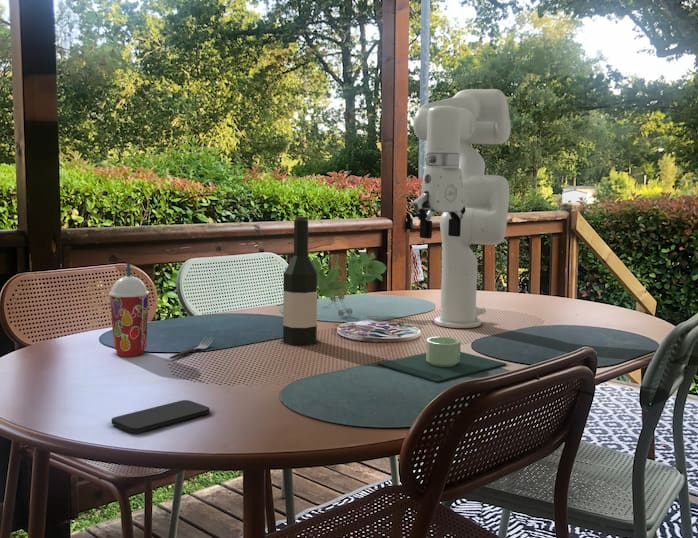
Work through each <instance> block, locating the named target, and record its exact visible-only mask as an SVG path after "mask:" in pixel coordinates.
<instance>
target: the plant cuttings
mask: <svg viewBox="0 0 698 538" xmlns="http://www.w3.org/2000/svg"><path fill="white" fill-rule="evenodd" d="M347 254H348V256H349V257H347V261H348V265H347V273H348V276H349V278H350V281H349V282H347V281H343V277H344V276H345V274H344V273H345V272H344V269H343V268H342V266H340V265H339V254H338V253H336V255H335V254H330V255H329V256H328V259H329V262H330V263H331V264H332V265H331V268H330V269H329V271H328V273H327V274H324V273H325V271H327V269H328V267H327V266H326V265H325V266H324V267H323V268H322V265H321V262H320V261H319V260H318V259H317V258H315V257H314V258H312V259H311V262H312V264H313V265H314V267H315V269H316V271H317V272H318V275H317V286H319V287H317V297H318V296H322V297H325V298H329V299H330V301H331V302H330V303H329V304H328V305H327V307H328V306H331V305H332V304H334V306H335V309H337V313H338V316H339V317H341V318H344V319H348V318H349V317H350V315H352V314H353V308H351V307H346V304H345V301H344V299H345V295H347V294H348V293H349V292H350V294H353V293H355V292H356V290H357V289H358V287H361V291H362V292H364V293H365V295H367V294H368V292H369V289H368V286H367V283H371V282H372V281H374V280H376V279H377V280H379V281H381V282H383V276H382V274H384V273H385V272H386V270H387V266H386V264H385V263H384V262H381V261H379V260H374V259H376V255H375V253H374V252H371V254H370V255H369V254H367V253H366V252H364V251H360V252H359V255H360V256H357V255H355V252H354V251H351V252H350V251H349V252H348V253H347ZM333 256H334V257H335V258H336V261H335V262H332V259H331V258H332V257H333ZM334 264H335V265H334ZM333 266H334V267H333ZM339 269H340V270H341V271H342V276H340V274H339ZM337 278H338V280H337ZM365 284H366V285H365ZM345 292H346V293H345ZM338 301H339V302H340V303H341V305H342V307H343V308H344V309H340V308H339V306H338V304H337V302H338ZM342 302H343V303H342ZM279 306H280V307H281V306H283V303H280V304H276V307H279ZM345 314H347V316H346V317H345V316H344V315H345Z"/></svg>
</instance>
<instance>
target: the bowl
mask: <svg viewBox="0 0 698 538" xmlns="http://www.w3.org/2000/svg"><path fill="white" fill-rule="evenodd" d="M461 343H462V342H461V340H460V339H459V338H455V337H450V336H432V337H428V338H426V343H425V353H426V361H427V362H429V364H431V365H434V366H440V367H450V366H455V365H456V364H457V363H459V362H460V352H461V345H462V344H461Z"/></svg>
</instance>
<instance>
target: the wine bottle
mask: <svg viewBox="0 0 698 538" xmlns="http://www.w3.org/2000/svg"><path fill="white" fill-rule="evenodd" d="M311 261H312V259H311V258H310V257H309V219H307V216H301V215H300V216H295V219H294V220H293V256H292V258H291V259H290V261H289V263H288V265H287V267H286V268H285V270H284V272H283V297H282V298H283V302H282V304H283V305H282V306H283V311H282V312H283V313H282V315H283V316H282V317H283V321H282V322H283V324H282V325H283V326H282V328H283V329H282V343H283V344H287V345H290V346H308V345H314V344H316V343H317V340H318V293H317V288H318V284H317V275H318V272H317V271H316V269H315V267H314V265H313V264H312V262H311Z"/></svg>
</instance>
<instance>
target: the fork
mask: <svg viewBox="0 0 698 538" xmlns="http://www.w3.org/2000/svg"><path fill="white" fill-rule="evenodd" d="M214 338H215V337H210V338H209V336H208V337H207V336H205V337H204V338H203V340H202V341H201V342H200V343H199V344H198V345H197V346H196V347H194V348H189V349H185V350H183V351H180V352H178V353H176V354H174V355H171V356H169V359H175V358H178V357H181V356H184V355H188V354H190V353H192V352H193V351H195V350H206V349H208V348H209V347H210V345H211V344H212V342H213V341H214Z"/></svg>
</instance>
